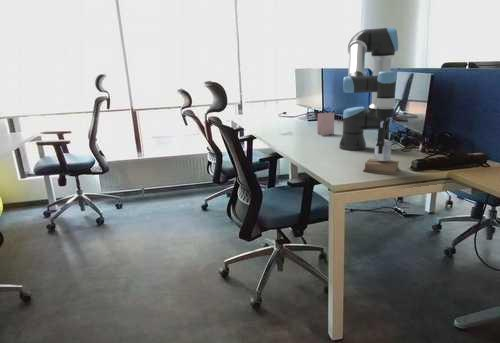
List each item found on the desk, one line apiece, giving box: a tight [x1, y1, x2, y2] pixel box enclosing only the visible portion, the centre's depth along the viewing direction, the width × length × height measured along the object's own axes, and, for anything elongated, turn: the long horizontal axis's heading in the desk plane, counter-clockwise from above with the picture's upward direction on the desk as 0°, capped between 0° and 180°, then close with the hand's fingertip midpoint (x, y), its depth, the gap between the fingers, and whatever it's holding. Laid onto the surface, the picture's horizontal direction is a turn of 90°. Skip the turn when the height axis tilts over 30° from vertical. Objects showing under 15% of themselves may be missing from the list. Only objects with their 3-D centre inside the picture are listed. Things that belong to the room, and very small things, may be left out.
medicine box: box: [373, 138, 392, 161], centre depth 168 cm, size 8×4×9 cm, turn 5°
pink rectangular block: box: [316, 112, 335, 137], centre depth 259 cm, size 11×7×15 cm, turn 84°
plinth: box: [362, 158, 400, 176], centre depth 170 cm, size 10×14×4 cm
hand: (382, 158), depth 169 cm, fingers closed on medicine box, 9 cm apart
